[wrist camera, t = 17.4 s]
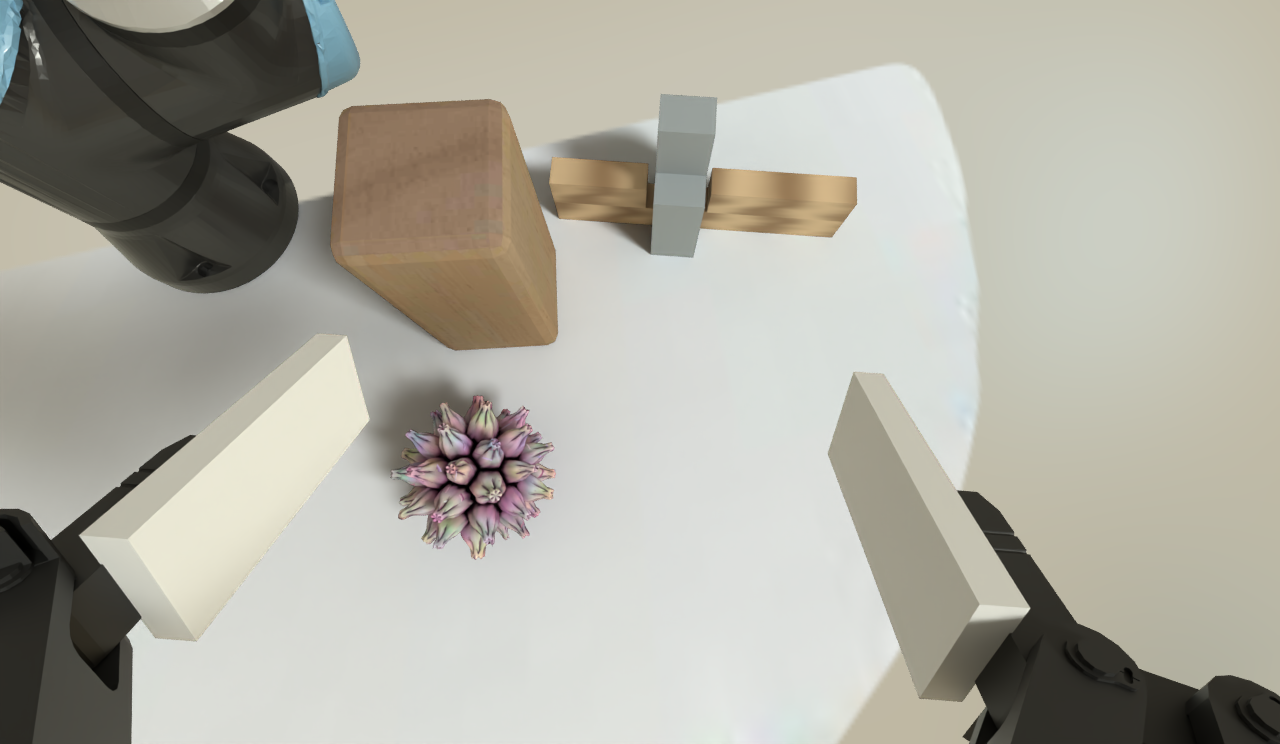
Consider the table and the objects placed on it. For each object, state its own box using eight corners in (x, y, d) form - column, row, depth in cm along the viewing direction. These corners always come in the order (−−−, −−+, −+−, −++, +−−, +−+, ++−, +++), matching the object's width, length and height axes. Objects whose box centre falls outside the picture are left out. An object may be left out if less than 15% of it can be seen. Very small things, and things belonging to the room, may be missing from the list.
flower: (593, 454, 46) (579, 441, 35) (511, 577, 44) (466, 607, 32) (486, 382, 48) (438, 346, 36) (401, 498, 45) (320, 499, 34)
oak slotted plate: (559, 218, 51) (549, 183, 45) (561, 195, 52) (552, 157, 46) (831, 237, 51) (857, 204, 45) (831, 213, 51) (856, 177, 46)
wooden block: (450, 251, 50) (332, 99, 31) (556, 245, 51) (505, 90, 31) (448, 353, 48) (320, 259, 29) (559, 347, 48) (507, 249, 29)
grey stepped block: (693, 257, 50) (713, 169, 37) (650, 254, 50) (655, 165, 37) (697, 176, 52) (718, 64, 39) (656, 174, 52) (663, 61, 39)
